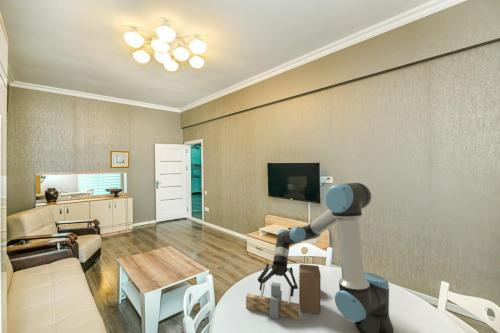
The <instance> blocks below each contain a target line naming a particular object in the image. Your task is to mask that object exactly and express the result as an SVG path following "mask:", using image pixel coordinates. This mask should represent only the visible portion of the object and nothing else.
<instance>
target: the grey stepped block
mask: <svg viewBox="0 0 500 333" xmlns="http://www.w3.org/2000/svg"><path fill="white" fill-rule="evenodd" d="M282 292H283V291H282V290H281V283H279V282H274V281H272V282H271V285H270V297H269V298H270V313H269V318H271V319H275V320H279V317H280V315H279V308H280V306H281V301H282V300H283V299H282Z"/></svg>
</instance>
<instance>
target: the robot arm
mask: <svg viewBox="0 0 500 333" xmlns="http://www.w3.org/2000/svg"><path fill="white" fill-rule="evenodd" d="M371 200H372V192H371V191H370V189H369V188H368V186H366V185H365V184H363V183H361V182H350V183H349V182H348V183H346V182H344V183H342V182H341V183H337V184H333V185H332V186H330V187H329V188H328V190H327V191H326V193H325V201H324V202H325V205H326V207H327V208H328V209H327V210H326V211H324V212H323V213H321V215H319V216H318V217H317V218H315V219H314V220H313V221H311V222H310V223H309V224H307V225H305V226H298V225H297V226H295V227H292V228H290V229H289V230H288V229H284V228H283V229H280V230H279V231H278V233H277V236H276V242H275V249H274V256H273V261H272V265H270V264H269V263H267V264H266V266H265V267H264V269H263V271H262V272H261V274H260V275H259V277H257V282H258V283H260V284H259V291H260V294H259V296H260V298H261V299H263V297H264V292H265V287H266V285H265V283H267V281H269V280H270V279H271V277H273V276H277V277H284V278H285V281H286V282H287V284H288V285H289V287H288V288H289V289H288V296H287V297H288V298H287V301H288V304H290V302H291V300H292V297H294V292H295V290H298V289H299V287H298V283H297V282H296V281H297V280H296V279H295V276H294V270H293V267H288V262H289V260H288V259H289V253H290V246H292V245H295V244H298V243H301V242H305V241H311V240H312V239H313V240H314V239H316V238H319V237H320V236H321V235H322V233H324V232H325V231H326V230H328V229H330V228H331V227H332V226H334V225H335V224H336V227H337V229H336V230H337V238H338V246H339V247H338V248H339V257H340V267H341V269H340V270H341V277H340V278H339V279H338V288H339V290H337V292H335V295H334V303H335V306H336V308H337V309H338V311H339V312H340V313H341V315H342V316H343V317H344V318H345V319H347V320H348V321H350V322H354V326H355V328H356V330H357V331H358V332H359V333H395V332H394V331H395V330H394V326H393V323H392V319H391V317H390V287H389V286H390V284H389V282H388V280H387V279H386V278H385V277H382V276H381V275H378V274H375V273H371V272H365V267H364V261H363V260H364V259H363V250H362V242H361V239H362V238H361V232H360V223H359V222H360V221H359V220H360V218H361V217H362V216H363V212H362V211H363V210H362V209H364V208H366V207H367V206H369V205H370V203H371ZM269 270H270V272H269ZM268 272H269V273H268ZM287 272H288V273H289V274H290V277H291V280H292V282H293V283H292V282H291V280H290V279H289V276H288V275H287V274H286V273H287ZM267 273H268V274H267Z"/></svg>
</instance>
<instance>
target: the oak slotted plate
mask: <svg viewBox="0 0 500 333" xmlns="http://www.w3.org/2000/svg"><path fill="white" fill-rule="evenodd" d="M245 308H246V309H249V310H254V311H259V312H262V313H267V314H270V297H268V296H263V299H261V298H260V295H258V294H253V293H252V294H251V293H247V294H246V296H245ZM299 312H300V310H299V302H298V303H297V302H292V301H290V304H288V300H283V299H282V301H281V306H280V308H279V317H280V316H281V317H285V318H289V319H294V320H299V317H300V313H299Z"/></svg>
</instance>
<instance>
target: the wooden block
mask: <svg viewBox="0 0 500 333" xmlns="http://www.w3.org/2000/svg"><path fill="white" fill-rule="evenodd" d="M298 267H299V270H298V271H299V273H298V274H299V275H298V276H299V277H298V282H299V284H298V285H299V287H298V289H299V290H298V291H299V292H298V294H299V295H298V298H299V299H298V304H299V312H301V313H305V314H306V313H307V314H313V315H320V314H321V290H322V288H321V287H322V286H321V282H322V281H321V278H322V277H321V271H320V267H319V266H318V265H313V264H304V263H303V264H301V263H300V264H299V266H298Z"/></svg>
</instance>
